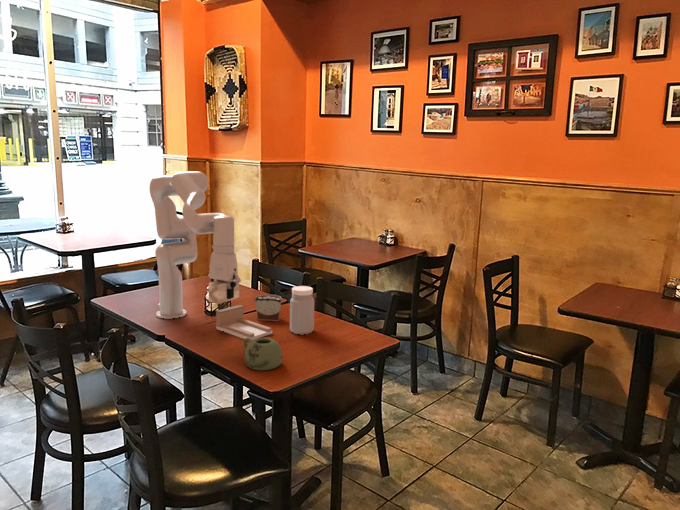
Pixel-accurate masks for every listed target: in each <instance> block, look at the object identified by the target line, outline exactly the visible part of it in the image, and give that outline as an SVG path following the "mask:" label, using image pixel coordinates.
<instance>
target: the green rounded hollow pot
mask: <svg viewBox="0 0 680 510" xmlns="http://www.w3.org/2000/svg"><path fill="white" fill-rule="evenodd" d="M247 342H248V345H247ZM243 348H244V350H245V351H244V355H243V356H244V357H243V359H244V363H245V366H247V367H248V368H250V369H251V370H255V371H271V370H275V369H276V368H278V367H279V366H281V364H282V361H283V352H282V347H281V346H280V344H279V342H278V341H277V340H276V339H274V338H271V337H260V338H257V339H254V340H251V339H250V338H246V339H244V340H243Z"/></svg>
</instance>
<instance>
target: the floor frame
mask: <svg viewBox="0 0 680 510" xmlns="http://www.w3.org/2000/svg"><path fill="white" fill-rule="evenodd" d="M215 312H216V313H215V325H216V326H215V327H216V330H219V331H221V332H223V331H224V332H223V333H225V334H229V335H232V336H234V337H237V338H239V339H242V340H243V339H244V340H245V339H246V338H250V339H251V340H254V339H257V338H264V337H266V336H270V335H272V334H273V330H272V327H269V326H267V325H263V324H260V323H257V322H254V321H252V320H248V319H245V318H244V305H241V304H238V305H233V306H229V307H226V308H222V309H218V310H215Z"/></svg>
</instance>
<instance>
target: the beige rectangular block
mask: <svg viewBox="0 0 680 510" xmlns="http://www.w3.org/2000/svg"><path fill="white" fill-rule="evenodd" d="M234 281H235V279H234ZM230 283H231V282H230ZM227 289H228V285H227V281H221V280H218V281H215V282H212V281H211V282H209V283H208V302H209V303H214V304H217V305H218V304H223V303H227V302H229V301H232V300H236V299H238V298H240V282H239V283H238V284H237V285H236V286H235V287H234V297H233V298H231V299H227Z"/></svg>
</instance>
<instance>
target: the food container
mask: <svg viewBox="0 0 680 510" xmlns="http://www.w3.org/2000/svg"><path fill="white" fill-rule="evenodd" d="M253 299H254V300H253V302H255V308H256V309H255V310H256V319H257V321H274V322H279V321H280V316H281V309H282V308H281V306H282V304H283V303H284V302H283V298H282V296H281V295H278V294H271V293H270V294H269V293H267V294H259V295H256V296H255V297H254V298H253Z"/></svg>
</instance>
